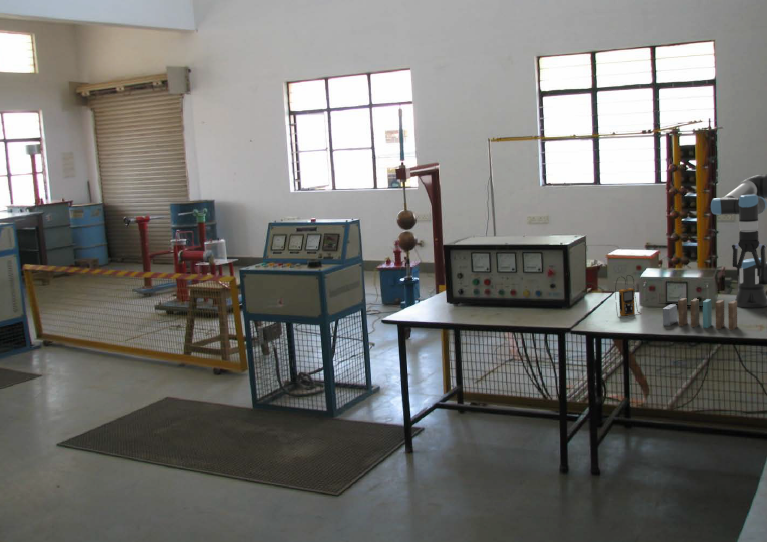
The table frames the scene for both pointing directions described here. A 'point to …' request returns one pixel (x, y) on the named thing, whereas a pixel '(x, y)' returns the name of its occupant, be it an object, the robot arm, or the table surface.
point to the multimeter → (626, 301)
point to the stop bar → (669, 315)
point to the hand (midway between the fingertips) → (749, 283)
